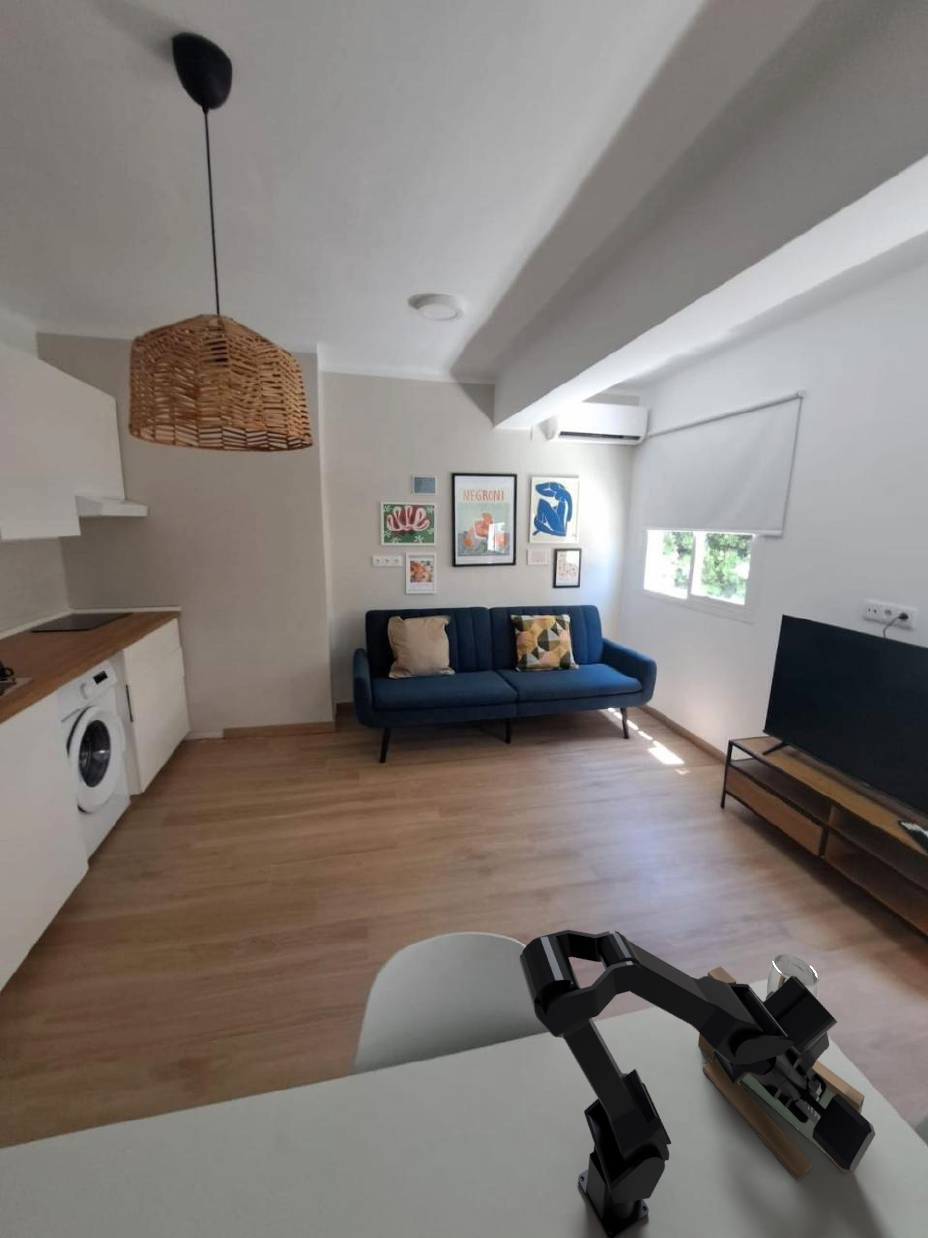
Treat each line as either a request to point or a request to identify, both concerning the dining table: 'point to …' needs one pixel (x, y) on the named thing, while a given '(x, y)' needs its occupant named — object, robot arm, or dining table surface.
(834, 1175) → the dining table surface
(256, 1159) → the dining table surface
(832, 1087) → the board
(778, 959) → the beer glass
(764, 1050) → the robot arm
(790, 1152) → the gate frame
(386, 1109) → the dining table surface
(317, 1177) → the dining table surface
